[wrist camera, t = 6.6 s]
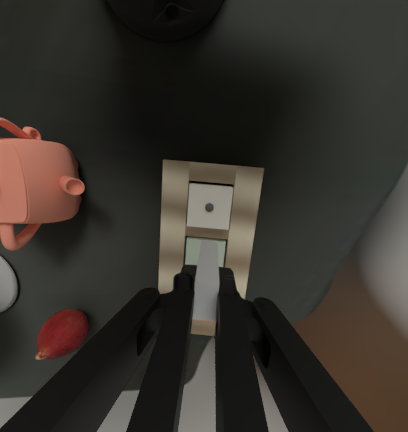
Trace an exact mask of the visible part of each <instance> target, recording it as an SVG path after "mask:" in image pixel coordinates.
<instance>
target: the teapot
mask: <svg viewBox="0 0 408 432" xmlns="http://www.w3.org/2000/svg"><path fill="white" fill-rule="evenodd" d="M0 126H2V127H4V128H6V129H7V130H9V131H10V132H11V133H13V134H14V135H16V136H17V137H18V138H0V236H1V241H2V244H3V245H4V247H5V248H6V249H8V250H18V249H20V248H22V247H23V246H24V245H25V244H27V243H28V242H29V241H30V239H31V238H32V237H33V235H34V234H35V233H36V231H37V230H38V228H39V227H40V225H41V224H42V223H53V222H59V221H64V220H68V219H71V218H72V217H74V216H75V215H76V214H77V212H78V210H79V205H80V203H81V201H82V198H81V196H80V194H82V193H83V192H84V190H85V186H84V183H83V182H82V181H81V180H79V174H78V162H77V160H76V159H75V157H74V155H73V152H72V151H71V150H70V149H69V148H68V147H66V146H65V145H63V144H60V143H56V142H49V141H42V140H41V135H40V133H39V131H38V130H36V129H35V128H32V127H24V128H23V130H21V129H20V128H19V127H17V126H16V125H15V124H13V123H11V122H10V121H8V120H6V119H3V118H0ZM14 224H28V225H27V226H26V227H25V229H24V230H23V231H22V232H20V233H19V234H18V235H17V236H15V234H14Z"/></svg>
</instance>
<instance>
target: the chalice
mask: <svg viewBox="0 0 408 432" xmlns="http://www.w3.org/2000/svg"><path fill="white" fill-rule="evenodd" d="M17 295H18V283H17V278H16V276H15V273H14V271H13V270H12V268H11V267H10V265H9V264H8V263H7V261H6V260H5V259H4V258H3V257H1V256H0V312H2V311H5V310H7V309H8V308H9V307H11V306H12V304H13V303H14V302H15V300H16V297H17Z"/></svg>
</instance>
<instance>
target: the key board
mask: <svg viewBox="0 0 408 432" xmlns="http://www.w3.org/2000/svg"><path fill="white" fill-rule="evenodd" d="M263 173H264V168H257V167H246V166H234V165H223V164H211V163H199V162H188V161H176V160H164V159H163V176H162V202H161V228H160V255H159V281H158V291H159V292H160V294H163V293H168V292H171V291H173V278H174V276H175V275H176V274H178V273H180V272H181V269H182V267H183V266H184V265H185V258H186V243H187V236H196V237H206V238H217V239H226V246H225V254H224V263H223V267H226V268H231V270H232V271H233V273H234V278H235V283H236V288H237V291H238V292H239V294H240V296H241V297H242V298H243V299H245V294H246V287H247V281H248V274H249V267H250V260H251V254H252V247H253V240H254V233H255V227H256V220H257V213H258V206H259V200H260V193H261V186H262V179H263ZM191 181H200V182H212V183H223V184H232V187H233V196H232V204H231V213H230V221H229V230H224V229H213V228H202V227H191V226H187V213H188V199H189V184H190V183H191ZM215 325H216V323H213V322H204V321H194V320H192V328H191V334H199V335H208V336H214V334H215Z"/></svg>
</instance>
